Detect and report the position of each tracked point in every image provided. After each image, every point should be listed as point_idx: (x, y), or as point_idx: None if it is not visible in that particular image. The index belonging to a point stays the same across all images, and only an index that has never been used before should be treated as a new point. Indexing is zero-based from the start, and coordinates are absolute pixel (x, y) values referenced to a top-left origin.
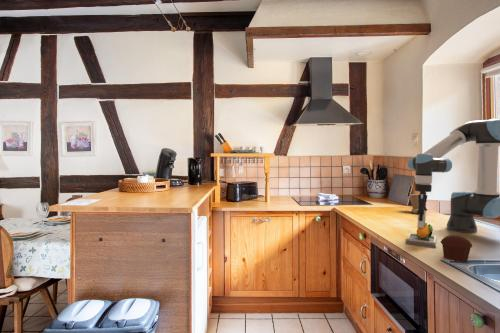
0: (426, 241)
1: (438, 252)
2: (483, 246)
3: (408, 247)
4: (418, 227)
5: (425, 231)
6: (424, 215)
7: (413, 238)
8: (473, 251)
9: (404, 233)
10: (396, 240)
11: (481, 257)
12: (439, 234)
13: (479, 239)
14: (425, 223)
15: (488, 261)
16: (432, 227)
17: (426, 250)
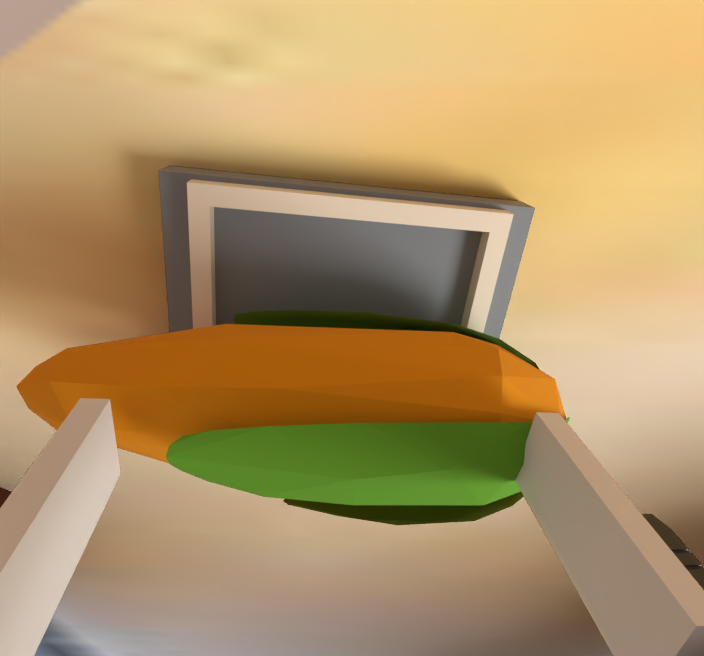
0: None
1: (41, 440)
2: (409, 648)
3: (8, 194)
4: (304, 380)
5: (135, 452)
6: (584, 579)
7: (324, 256)
8: (246, 609)
9: (674, 145)
10: (259, 37)
11: (122, 633)
12: (685, 457)
13: (587, 640)
14: (398, 496)
15: (54, 652)
16: (424, 516)
17: (31, 358)
